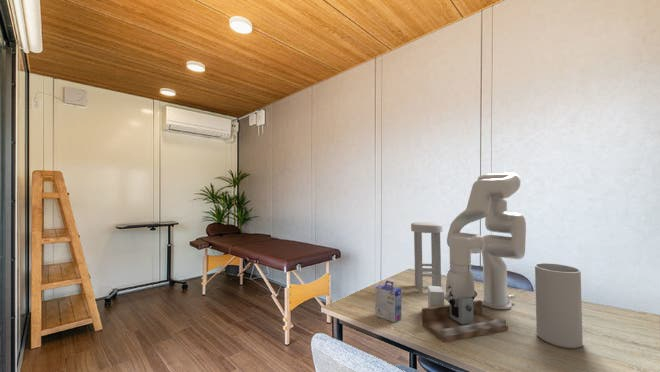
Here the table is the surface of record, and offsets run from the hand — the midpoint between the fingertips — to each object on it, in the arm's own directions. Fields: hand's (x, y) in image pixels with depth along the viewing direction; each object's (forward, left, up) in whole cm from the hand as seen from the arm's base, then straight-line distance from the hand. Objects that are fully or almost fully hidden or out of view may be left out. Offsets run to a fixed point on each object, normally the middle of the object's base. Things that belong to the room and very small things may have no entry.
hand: (461, 314), depth 110 cm
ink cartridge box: (+23, -16, -5) cm, 28 cm away
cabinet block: (0, 0, -2) cm, 2 cm away
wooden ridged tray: (0, +1, -4) cm, 5 cm away
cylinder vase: (-25, +18, -5) cm, 31 cm away
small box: (+2, -13, -5) cm, 14 cm away
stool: (-13, -40, -5) cm, 42 cm away
